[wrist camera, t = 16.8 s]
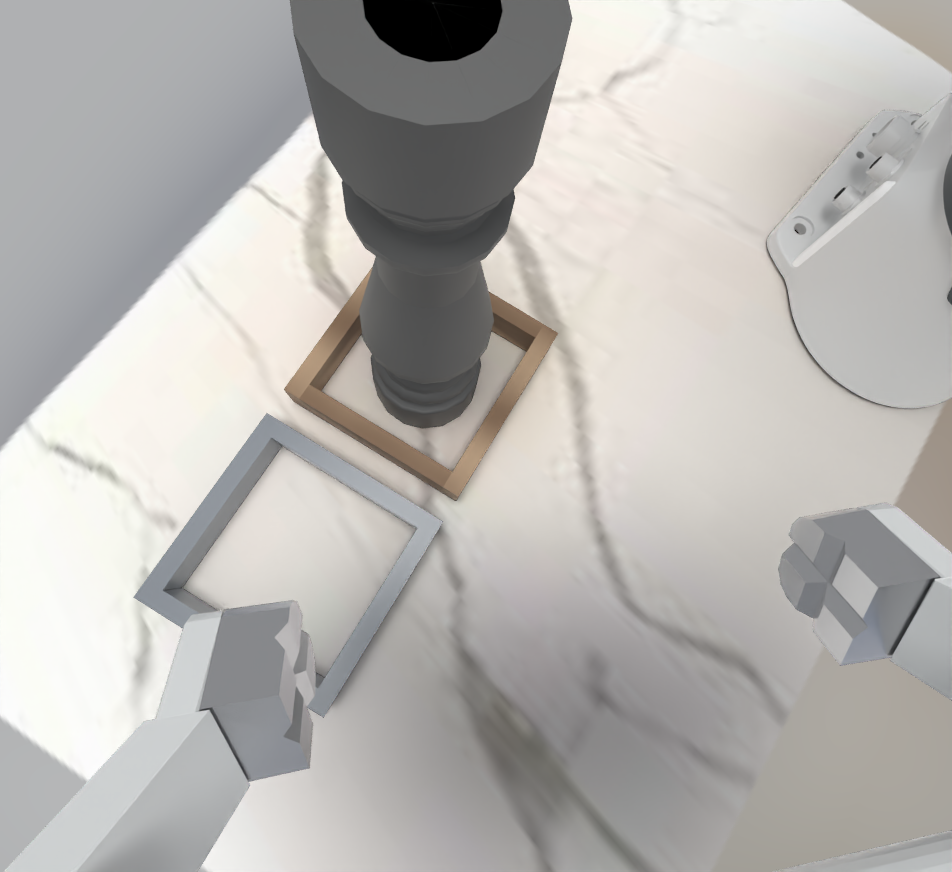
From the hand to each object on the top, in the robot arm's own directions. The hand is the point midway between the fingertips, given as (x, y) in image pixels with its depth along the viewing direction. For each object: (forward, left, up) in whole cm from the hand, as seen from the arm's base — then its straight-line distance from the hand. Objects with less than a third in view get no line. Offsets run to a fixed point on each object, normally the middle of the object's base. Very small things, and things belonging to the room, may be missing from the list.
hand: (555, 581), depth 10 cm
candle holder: (-9, -8, -25) cm, 28 cm away
